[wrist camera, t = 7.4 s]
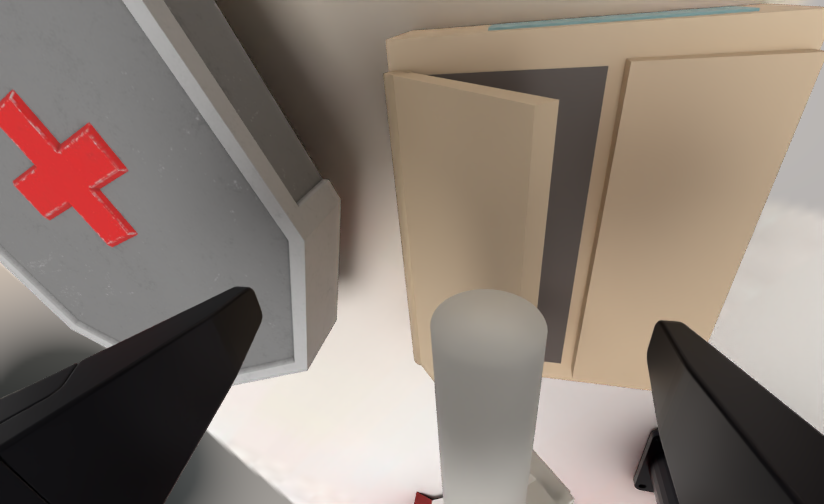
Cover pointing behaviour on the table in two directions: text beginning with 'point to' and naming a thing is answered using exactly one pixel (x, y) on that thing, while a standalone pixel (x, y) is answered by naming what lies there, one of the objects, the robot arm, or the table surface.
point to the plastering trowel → (477, 274)
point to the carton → (643, 159)
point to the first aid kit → (158, 177)
